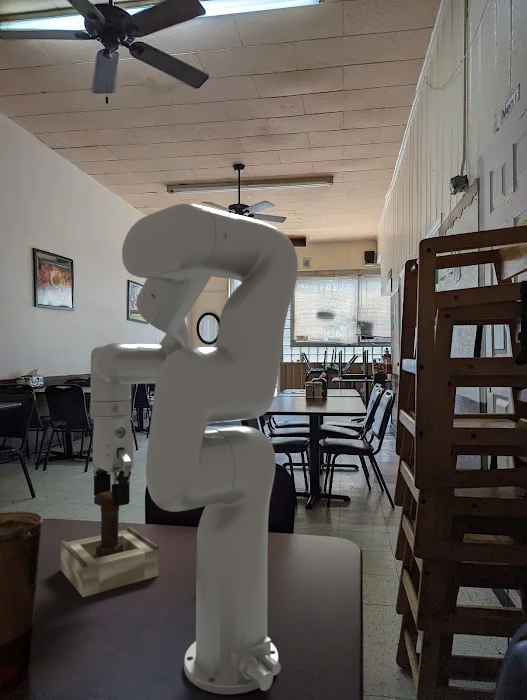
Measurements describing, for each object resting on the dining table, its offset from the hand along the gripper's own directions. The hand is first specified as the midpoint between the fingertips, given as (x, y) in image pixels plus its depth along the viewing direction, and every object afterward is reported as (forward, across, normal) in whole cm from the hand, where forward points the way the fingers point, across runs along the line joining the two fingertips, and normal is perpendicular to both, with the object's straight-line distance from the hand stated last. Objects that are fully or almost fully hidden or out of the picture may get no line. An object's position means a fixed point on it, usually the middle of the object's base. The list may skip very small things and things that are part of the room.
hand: (111, 499), depth 93 cm
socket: (+14, +1, 0) cm, 14 cm away
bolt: (+14, +1, 0) cm, 14 cm away
